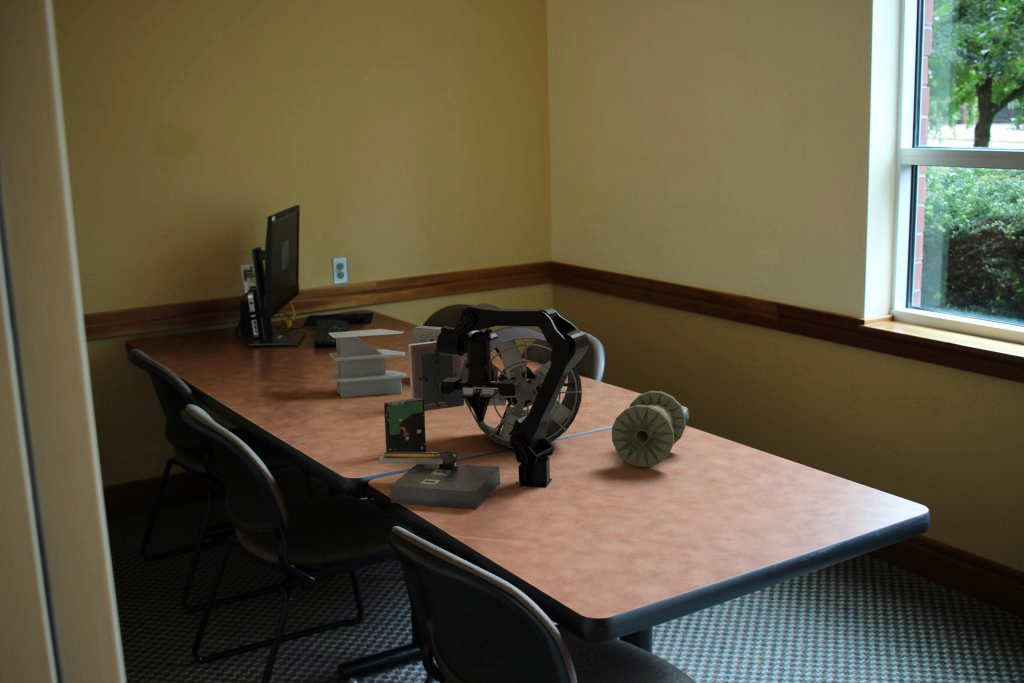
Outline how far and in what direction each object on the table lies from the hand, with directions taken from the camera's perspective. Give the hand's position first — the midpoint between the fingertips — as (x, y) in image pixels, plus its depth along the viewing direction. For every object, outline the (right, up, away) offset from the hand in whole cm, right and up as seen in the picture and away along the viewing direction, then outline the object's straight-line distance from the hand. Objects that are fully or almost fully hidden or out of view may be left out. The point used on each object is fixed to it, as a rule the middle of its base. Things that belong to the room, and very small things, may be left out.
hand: (481, 421), depth 237 cm
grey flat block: (-7, -15, -11) cm, 20 cm away
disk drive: (-20, -11, +19) cm, 29 cm away
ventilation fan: (+10, -8, +28) cm, 31 cm away
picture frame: (-15, -2, +63) cm, 65 cm away
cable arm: (-14, -10, -3) cm, 18 cm away
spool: (+42, -10, +12) cm, 45 cm away
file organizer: (-38, 0, +82) cm, 91 cm away
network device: (-14, +3, +95) cm, 96 cm away
